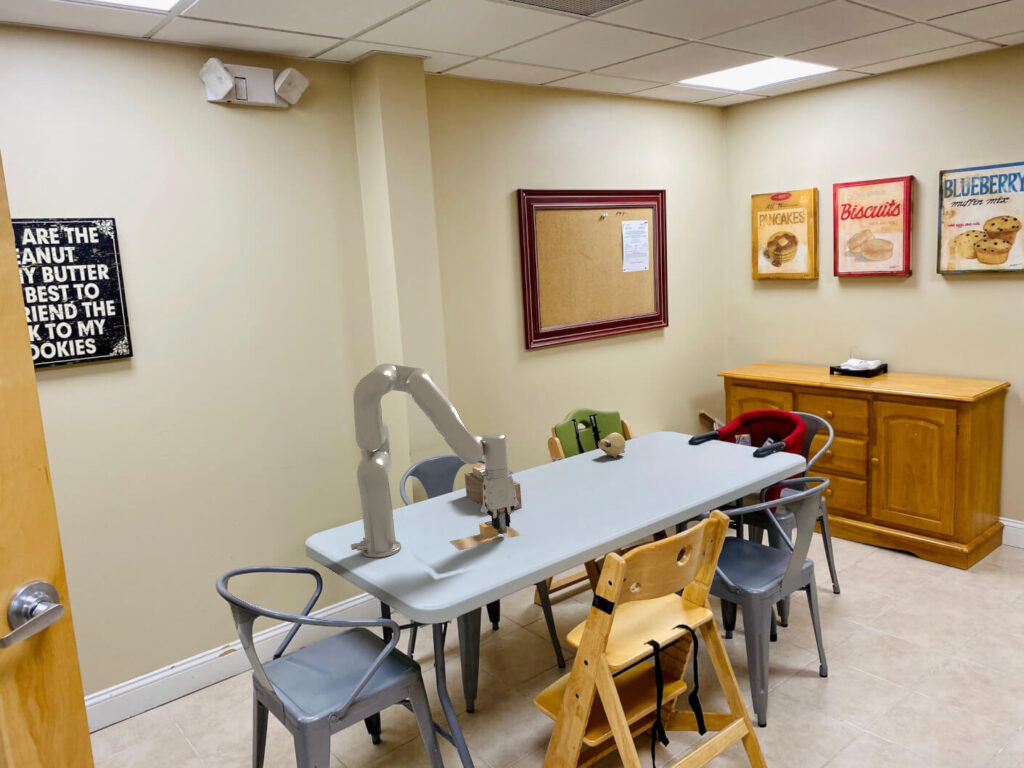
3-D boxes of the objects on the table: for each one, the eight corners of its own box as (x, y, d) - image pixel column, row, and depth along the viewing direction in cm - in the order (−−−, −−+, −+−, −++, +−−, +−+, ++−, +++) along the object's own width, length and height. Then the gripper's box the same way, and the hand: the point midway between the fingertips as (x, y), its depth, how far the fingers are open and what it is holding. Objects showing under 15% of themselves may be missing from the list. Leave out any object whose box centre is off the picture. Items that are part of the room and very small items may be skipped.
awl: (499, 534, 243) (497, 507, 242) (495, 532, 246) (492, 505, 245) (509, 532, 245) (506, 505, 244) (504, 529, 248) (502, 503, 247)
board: (459, 553, 237) (459, 550, 237) (449, 544, 245) (449, 541, 245) (522, 538, 247) (522, 534, 246) (510, 530, 255) (510, 526, 254)
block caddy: (494, 513, 272) (492, 489, 270) (466, 495, 295) (464, 473, 293) (521, 507, 276) (520, 483, 275) (492, 490, 299) (490, 468, 298)
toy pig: (594, 456, 337) (593, 433, 335) (616, 451, 342) (615, 428, 341) (608, 461, 328) (607, 437, 326) (630, 456, 334) (629, 432, 332)
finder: (484, 537, 246) (483, 526, 246) (479, 533, 250) (479, 522, 249) (498, 534, 248) (497, 523, 248) (493, 530, 252) (492, 519, 251)
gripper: (478, 480, 236) (483, 536, 239) (525, 470, 243) (529, 525, 246) (469, 474, 242) (473, 529, 245) (515, 465, 249) (518, 518, 252)
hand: (501, 526), depth 245 cm, fingers closed on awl, 3 cm apart
